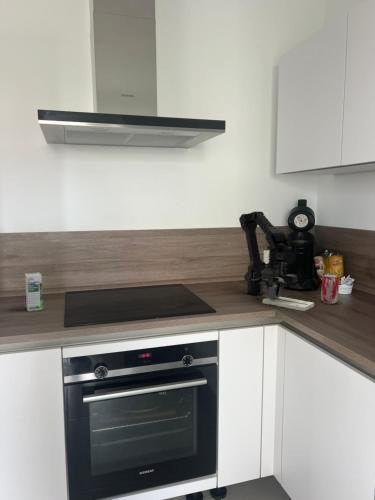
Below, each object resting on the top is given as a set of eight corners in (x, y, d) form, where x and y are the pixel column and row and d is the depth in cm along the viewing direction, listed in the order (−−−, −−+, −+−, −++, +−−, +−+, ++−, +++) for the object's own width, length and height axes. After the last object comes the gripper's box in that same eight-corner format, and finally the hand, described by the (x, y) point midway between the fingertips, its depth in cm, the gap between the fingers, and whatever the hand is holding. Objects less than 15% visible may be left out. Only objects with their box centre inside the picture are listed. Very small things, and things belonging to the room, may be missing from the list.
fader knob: (268, 298, 169) (268, 286, 168) (273, 295, 173) (274, 284, 172) (274, 299, 167) (274, 287, 167) (279, 297, 171) (280, 285, 170)
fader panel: (262, 303, 168) (262, 299, 168) (273, 298, 176) (273, 295, 176) (304, 311, 156) (304, 307, 156) (314, 306, 164) (314, 302, 164)
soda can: (319, 303, 169) (321, 276, 168) (322, 299, 175) (323, 273, 174) (336, 305, 166) (338, 277, 164) (338, 301, 172) (340, 275, 171)
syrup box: (27, 311, 152) (26, 275, 150) (26, 307, 157) (24, 272, 155) (43, 309, 154) (41, 274, 153) (41, 306, 160) (39, 271, 158)
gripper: (247, 260, 168) (246, 295, 170) (287, 265, 156) (285, 303, 158) (260, 257, 176) (258, 291, 178) (298, 262, 164) (297, 297, 166)
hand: (274, 295), depth 170 cm, fingers closed on fader knob, 3 cm apart
